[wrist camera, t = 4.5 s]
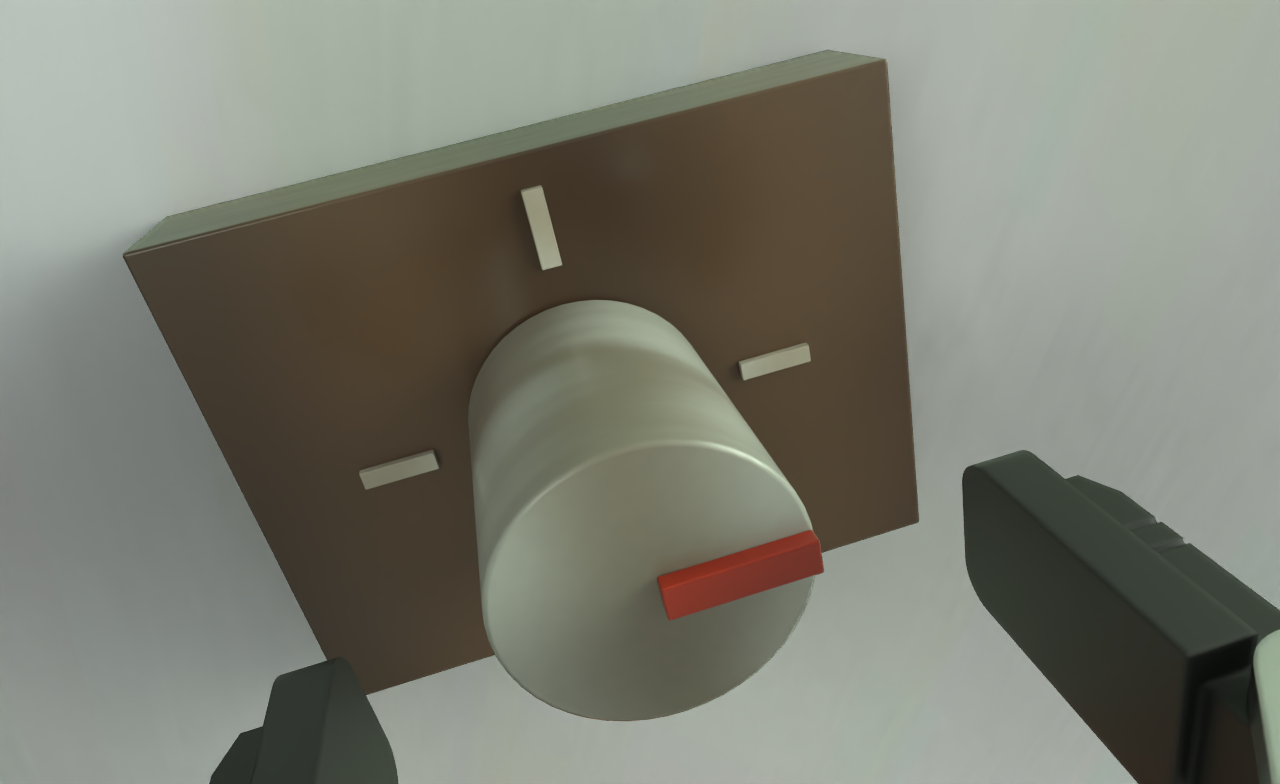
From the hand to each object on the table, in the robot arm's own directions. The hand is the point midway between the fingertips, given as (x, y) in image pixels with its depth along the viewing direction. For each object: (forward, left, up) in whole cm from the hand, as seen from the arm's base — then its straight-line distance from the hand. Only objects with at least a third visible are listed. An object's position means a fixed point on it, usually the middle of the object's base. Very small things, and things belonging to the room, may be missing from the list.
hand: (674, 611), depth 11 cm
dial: (0, 0, -6) cm, 6 cm away
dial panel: (0, 0, -9) cm, 9 cm away
